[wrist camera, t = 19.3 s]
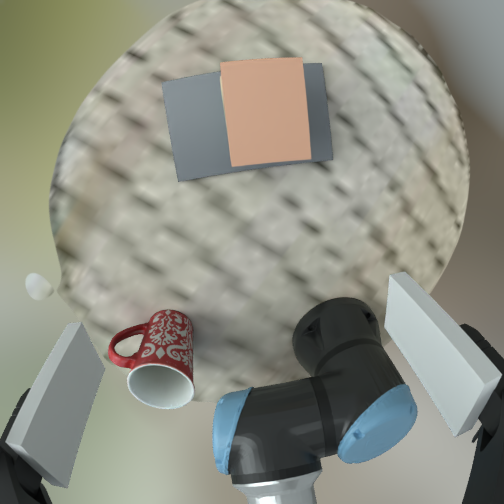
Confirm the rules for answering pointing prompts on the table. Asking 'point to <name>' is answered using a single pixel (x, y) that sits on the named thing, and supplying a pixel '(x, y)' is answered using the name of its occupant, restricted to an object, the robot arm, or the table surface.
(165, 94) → the baseplate
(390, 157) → the table surface
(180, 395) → the mug
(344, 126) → the table surface
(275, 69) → the terracotta brick
